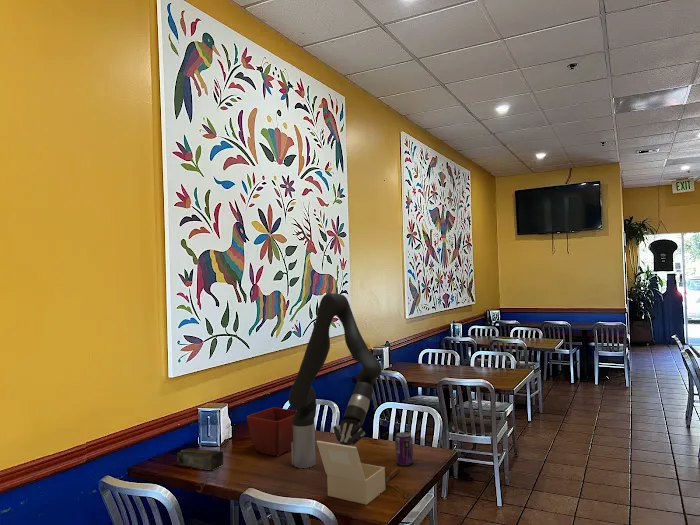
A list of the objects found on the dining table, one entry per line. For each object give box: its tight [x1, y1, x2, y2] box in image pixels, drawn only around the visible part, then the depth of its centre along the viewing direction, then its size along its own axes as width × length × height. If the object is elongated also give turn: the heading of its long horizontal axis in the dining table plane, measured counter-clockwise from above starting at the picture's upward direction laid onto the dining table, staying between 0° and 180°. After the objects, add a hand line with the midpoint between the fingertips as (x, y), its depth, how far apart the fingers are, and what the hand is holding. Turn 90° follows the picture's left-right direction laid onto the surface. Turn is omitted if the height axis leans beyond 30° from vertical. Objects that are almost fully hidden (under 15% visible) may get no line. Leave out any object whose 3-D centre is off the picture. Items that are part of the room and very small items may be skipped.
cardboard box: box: [326, 462, 386, 505], centre depth 182 cm, size 16×14×8 cm
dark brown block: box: [176, 447, 224, 471], centre depth 215 cm, size 8×19×7 cm, turn 66°
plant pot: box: [246, 406, 296, 456], centre depth 232 cm, size 19×19×17 cm
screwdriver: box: [385, 466, 401, 483], centre depth 194 cm, size 16×1×2 cm, turn 153°
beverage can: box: [394, 431, 414, 467], centre depth 210 cm, size 7×7×12 cm
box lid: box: [316, 440, 366, 482], centre depth 174 cm, size 16×14×1 cm
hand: (340, 454), depth 174 cm, fingers closed
